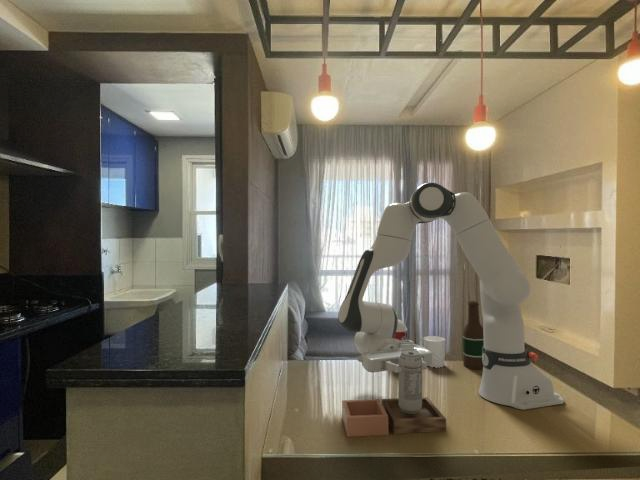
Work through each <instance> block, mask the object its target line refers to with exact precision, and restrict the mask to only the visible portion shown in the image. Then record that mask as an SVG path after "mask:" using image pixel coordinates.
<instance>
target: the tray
mask: <svg viewBox="0 0 640 480" xmlns="http://www.w3.org/2000/svg"><path fill="white" fill-rule="evenodd" d="M381 404H382V406H383V407H384V409H385V411H386V413H387V415H388V426H390V428H391V430H392V433H393V434H408V433H409V434H411V433H412V434H413V433H429V432H430V433H431V432H435V433H436V432H447V417H445V416H444V414H442V412H440V410H439V409H438V408H437V407H436V405H435V404H434V403H433V402H432V401H431V400H430V398H429V397H428V396H425V397H424V396H422V408H421V409H420V411H419V412H418V413H415V414H410V413H405V412H403V411H402V410H401V409H400V407H399V405H398V398H394V397H393V398H381Z"/></svg>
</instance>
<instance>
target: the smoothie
mask: <svg viewBox="0 0 640 480" xmlns="http://www.w3.org/2000/svg"><path fill="white" fill-rule="evenodd" d="M395 313H396V315H397V316H398V312H397V311H395ZM397 319H398V318H397ZM393 338H394V339H398V340H408V328H407V326H406V324H405V323H404V321H403V320H402V319H398V324H397V330H396V332H395V335H394V337H393Z"/></svg>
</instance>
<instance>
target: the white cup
mask: <svg viewBox="0 0 640 480" xmlns="http://www.w3.org/2000/svg"><path fill="white" fill-rule="evenodd" d="M423 347H424V348H426V349H428V350H430V351H431V352H432V356H433V361H432V365H428V366H430V367H429V368H433V367H435V368H436V369H440V367H441V368H443V367H445V358H446V357H445V356H446V338H444V337H443V336H437V335H428V336H424V337H423ZM428 366H427V367H428Z"/></svg>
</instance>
